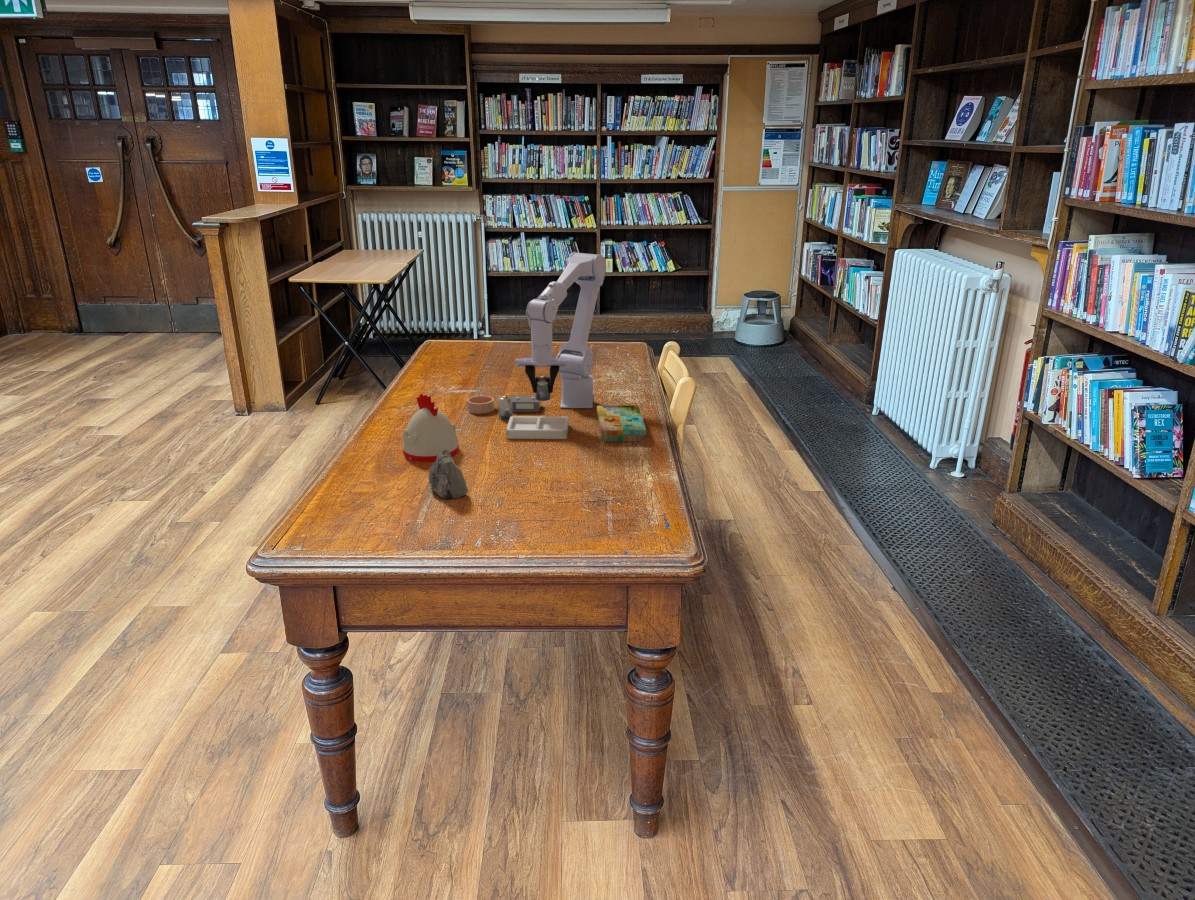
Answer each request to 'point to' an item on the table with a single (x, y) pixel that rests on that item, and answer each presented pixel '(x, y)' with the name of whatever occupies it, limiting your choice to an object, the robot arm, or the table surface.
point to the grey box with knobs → (525, 404)
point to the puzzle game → (621, 423)
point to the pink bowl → (480, 404)
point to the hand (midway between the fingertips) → (542, 391)
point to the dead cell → (505, 407)
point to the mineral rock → (447, 477)
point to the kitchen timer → (428, 433)
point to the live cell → (542, 388)
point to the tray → (537, 427)
